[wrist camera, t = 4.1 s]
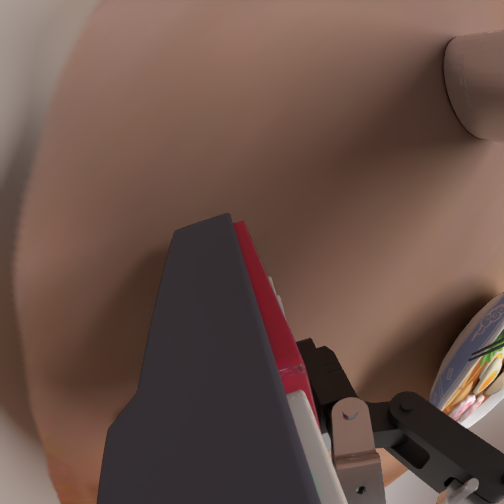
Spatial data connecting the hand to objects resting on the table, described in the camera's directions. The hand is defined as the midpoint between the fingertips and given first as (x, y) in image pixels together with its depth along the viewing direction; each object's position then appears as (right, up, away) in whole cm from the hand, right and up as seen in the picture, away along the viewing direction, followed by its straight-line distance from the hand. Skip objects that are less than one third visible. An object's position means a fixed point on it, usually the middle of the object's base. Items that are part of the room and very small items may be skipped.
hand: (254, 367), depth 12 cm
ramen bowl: (+27, -5, +15) cm, 31 cm away
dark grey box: (-1, +2, +5) cm, 5 cm away
